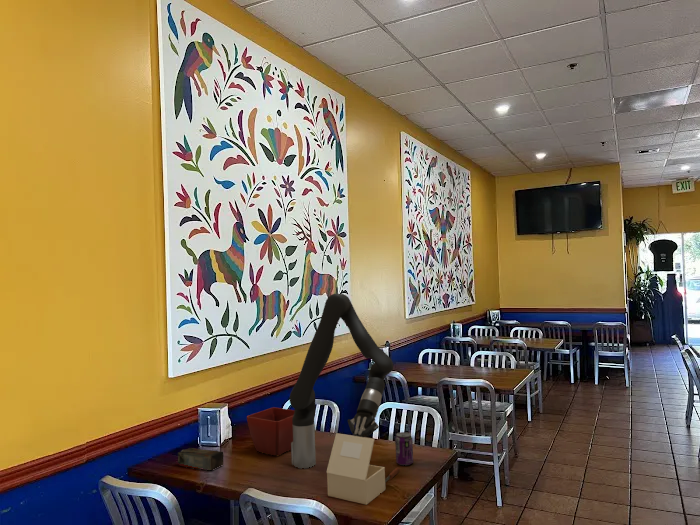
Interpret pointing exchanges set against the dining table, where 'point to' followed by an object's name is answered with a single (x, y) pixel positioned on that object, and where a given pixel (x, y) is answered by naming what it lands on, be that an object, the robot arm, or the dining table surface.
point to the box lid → (350, 456)
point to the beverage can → (404, 448)
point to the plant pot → (271, 430)
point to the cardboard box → (357, 486)
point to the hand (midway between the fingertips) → (355, 445)
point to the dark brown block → (201, 458)
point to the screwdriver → (392, 474)
